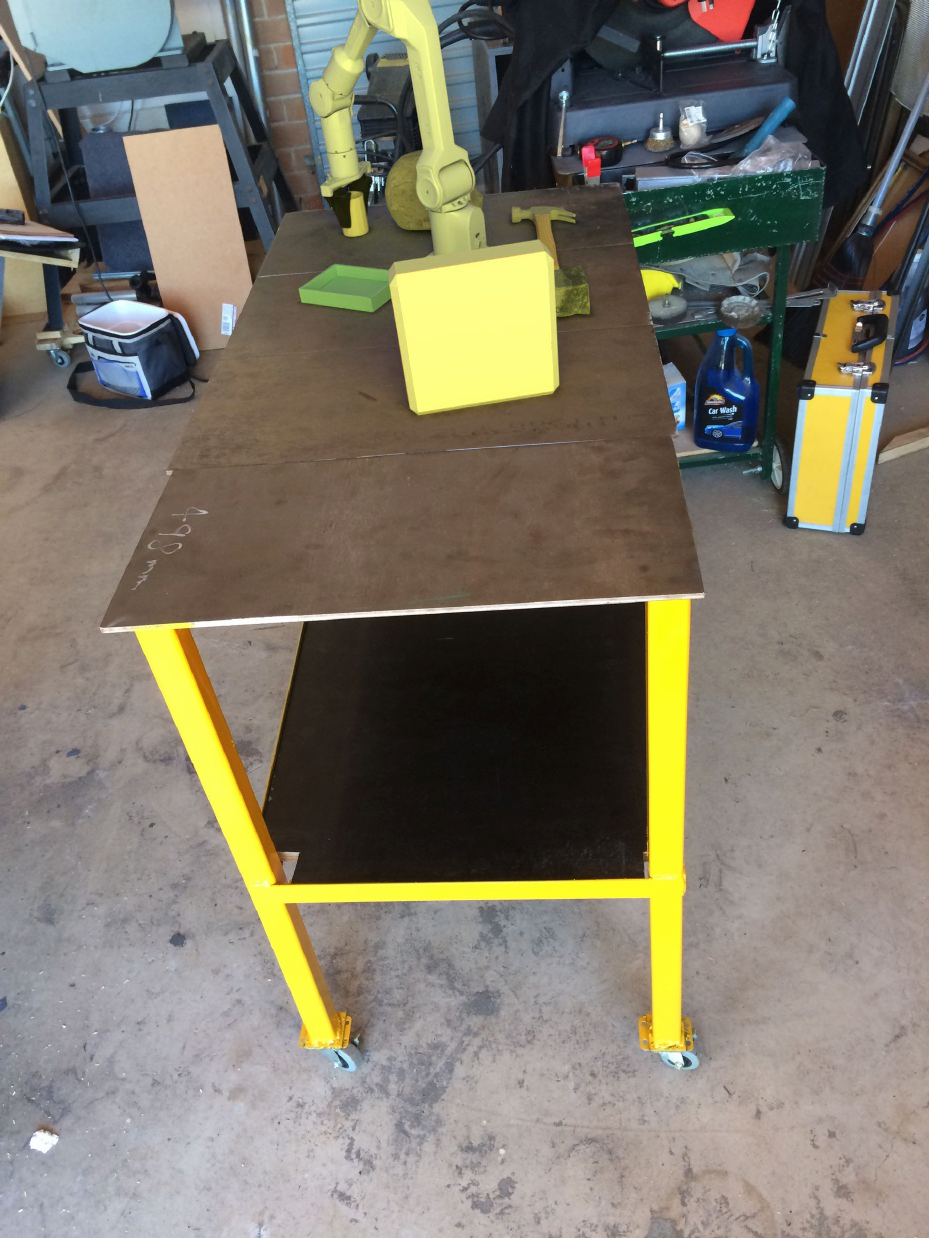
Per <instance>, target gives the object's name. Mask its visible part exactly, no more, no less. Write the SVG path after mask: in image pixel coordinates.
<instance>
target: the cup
mask: <svg viewBox="0 0 929 1238" xmlns="http://www.w3.org/2000/svg"><path fill="white" fill-rule="evenodd" d="M348 192H351V193H352V194H351V199H350V214H351V228H341V230H342V234H343V236H345V237H349V238H354V237H360V236H364V235H366V234H367V233H369V231H370V228H369V227H370V225H369V220H368V214H366V208H365V202H364V197H363V193H362V192H360V191H349V190H348Z"/></svg>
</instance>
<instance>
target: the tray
mask: <svg viewBox="0 0 929 1238" xmlns="http://www.w3.org/2000/svg"><path fill="white" fill-rule="evenodd" d="M388 271H389V269H384V268H377V267H376V268H375V267H368V266H358V265H349V264H342V263H341V264H340V263H333V264H332V265H330V266H329V267H328V268H326V269H325V270H323V271H322V272H320V273H319V274H318V275H316V276H314V277H313V278H312V279H311V280H309V281H308V282H306V283H305V284H303V285H301V286H300V287H299V288H298V294H299V298H300V302H301V303H303V304H311V305H316V306H325V307H331V308H339V309H345V310H354V311H360V312H368V313H374V312H375V311H377V310H378V309H379V308H381V307H382V306H384V305H385V304H386V303H387V302H388V301H389V300H392V297H391V291H390V285H389V279H388Z"/></svg>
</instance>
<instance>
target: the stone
mask: <svg viewBox="0 0 929 1238" xmlns="http://www.w3.org/2000/svg"><path fill="white" fill-rule="evenodd" d="M422 151H423V149H419V150H415V151H412V152H408V153H406V154H403V155H401V156H400V157H399V158H398V159H397V160H396V161H395V163H394V164H393V165H392V166H391V168H390V170H389V172H388V173H387V177H386V181H385V187H384V188H385V189H384V199H385V203H386V207H387V210H388V211H389V214H390V216H391V217H392V220H394V222H395V224H396V225H397V226H398V227H399V228H401V229H402V230H406V231H431V225H430V218H429V210H426V209H425V207H424V206H423V204H422V203H421V202H420V200H419V198H418V196H417V192H416V180H417V170H416V164H417V162H418V160H419V157H420V155H421V153H422ZM468 203H470V204H471V205H473V206H476V207H479V208H481V210H482V211H483V205H484V196H483V195H482V193H481V192H480V191H479V190H477V188H476V187H475V186H474V189H473V191H472V192H471V193H470V200H469V201H468Z"/></svg>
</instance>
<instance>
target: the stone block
mask: <svg viewBox="0 0 929 1238" xmlns="http://www.w3.org/2000/svg"><path fill="white" fill-rule="evenodd" d="M587 279H588V278H587V277H586V275H585V272H584V270H583V268H582V266H581V265H574V266H570V267H564V268H559V269H557V270H554V282H555V304H556V318H564V317H570V316H573V315H577V314H580V315H590V311H591V308H590V307H591V306H590V291H589V282H588V280H587Z"/></svg>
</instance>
